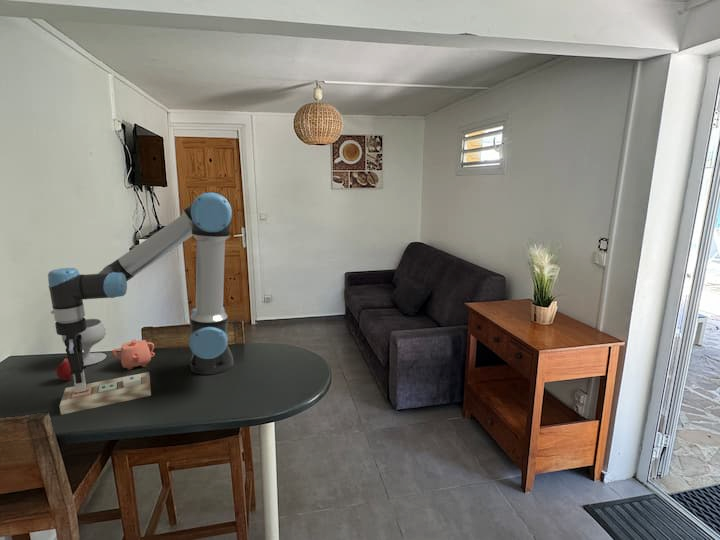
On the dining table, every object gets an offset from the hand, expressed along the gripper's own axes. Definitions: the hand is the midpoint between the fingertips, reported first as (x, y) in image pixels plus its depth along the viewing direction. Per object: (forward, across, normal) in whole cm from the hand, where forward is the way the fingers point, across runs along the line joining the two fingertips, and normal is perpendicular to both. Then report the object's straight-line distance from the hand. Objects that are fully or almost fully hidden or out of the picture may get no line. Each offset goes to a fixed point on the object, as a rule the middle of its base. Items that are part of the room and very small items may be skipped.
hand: (81, 390), depth 129 cm
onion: (+4, -19, -6) cm, 20 cm away
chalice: (+4, -35, -2) cm, 35 cm away
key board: (+4, 0, +7) cm, 8 cm away
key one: (+2, 0, +14) cm, 14 cm away
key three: (+3, 0, 0) cm, 3 cm away
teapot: (+4, -21, +15) cm, 26 cm away
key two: (+3, 0, +7) cm, 8 cm away
